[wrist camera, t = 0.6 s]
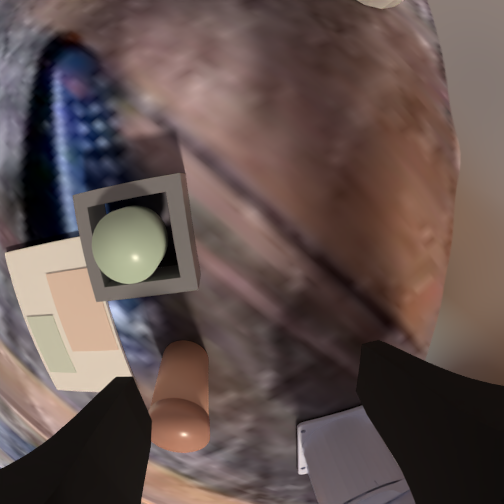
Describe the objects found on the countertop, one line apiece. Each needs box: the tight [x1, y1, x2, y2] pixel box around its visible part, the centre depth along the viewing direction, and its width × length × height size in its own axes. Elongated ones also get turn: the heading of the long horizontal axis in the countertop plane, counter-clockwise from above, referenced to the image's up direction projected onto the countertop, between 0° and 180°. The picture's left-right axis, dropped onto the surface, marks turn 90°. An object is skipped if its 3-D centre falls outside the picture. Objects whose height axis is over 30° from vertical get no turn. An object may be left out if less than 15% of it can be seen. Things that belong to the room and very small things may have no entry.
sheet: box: [5, 236, 139, 392], centre depth 17 cm, size 12×8×1 cm, turn 6°
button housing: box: [73, 173, 201, 302], centre depth 15 cm, size 6×6×2 cm
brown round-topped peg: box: [148, 340, 210, 453], centre depth 15 cm, size 3×3×7 cm
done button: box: [92, 205, 168, 284], centre depth 14 cm, size 4×4×2 cm
